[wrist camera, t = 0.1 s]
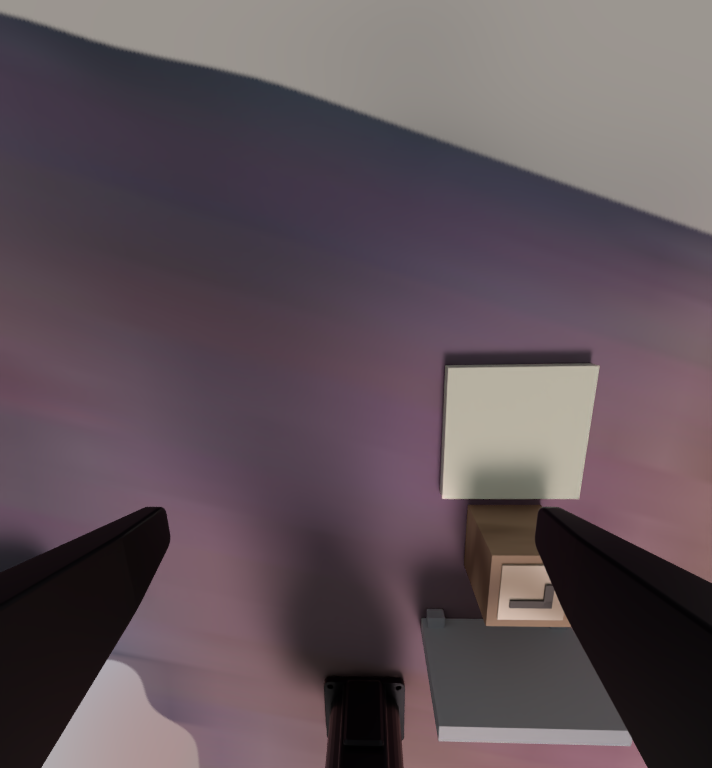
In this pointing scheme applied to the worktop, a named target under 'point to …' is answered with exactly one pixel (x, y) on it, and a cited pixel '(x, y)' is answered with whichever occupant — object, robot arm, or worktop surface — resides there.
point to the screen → (515, 685)
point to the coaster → (516, 430)
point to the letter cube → (509, 568)
